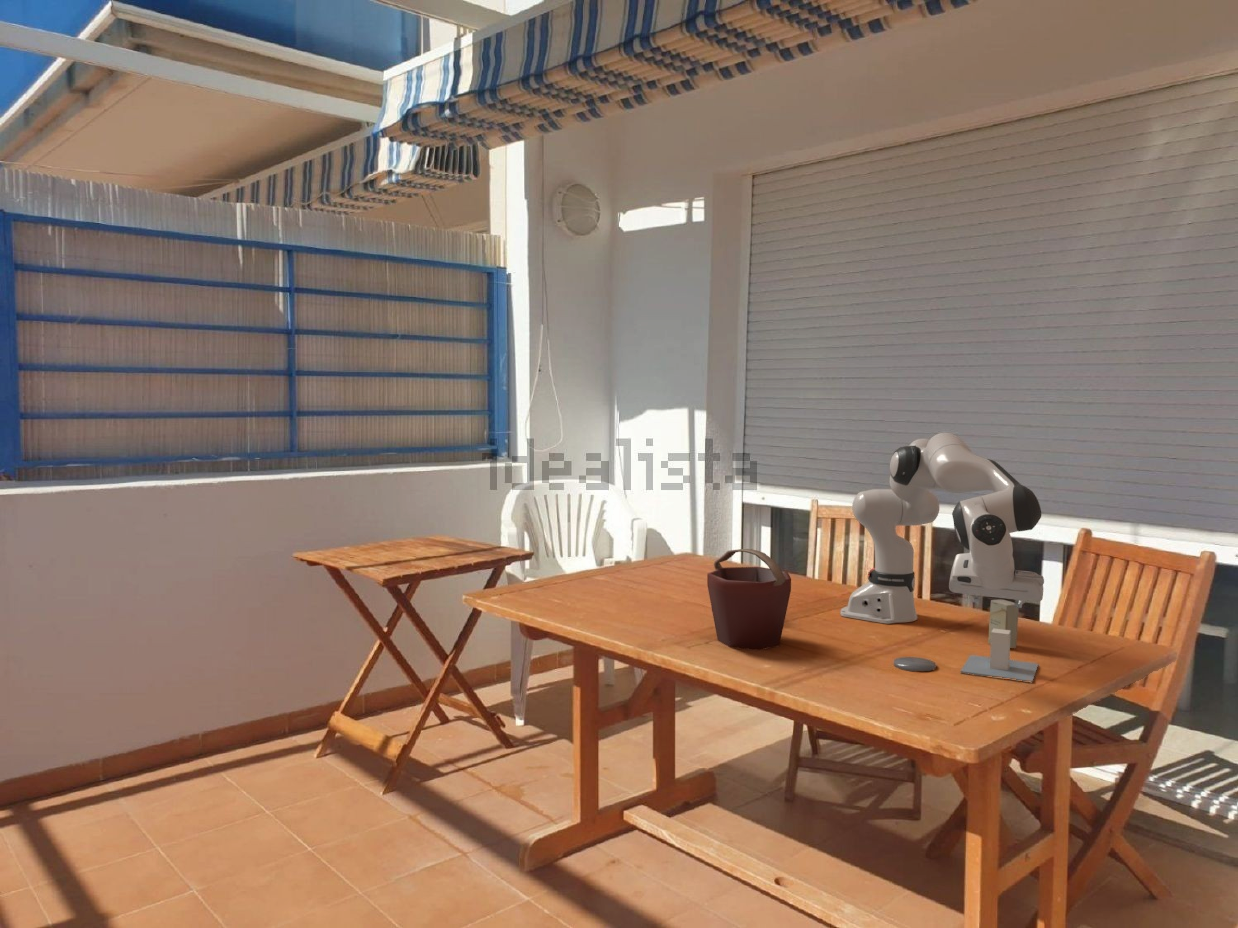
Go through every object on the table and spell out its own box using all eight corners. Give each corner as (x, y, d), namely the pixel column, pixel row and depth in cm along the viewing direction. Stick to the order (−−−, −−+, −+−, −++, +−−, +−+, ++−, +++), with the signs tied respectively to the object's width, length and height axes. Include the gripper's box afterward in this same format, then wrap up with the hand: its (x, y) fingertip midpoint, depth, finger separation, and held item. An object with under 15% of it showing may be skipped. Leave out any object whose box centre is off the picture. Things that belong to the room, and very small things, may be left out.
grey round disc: (889, 667, 231) (889, 664, 231) (898, 657, 240) (898, 654, 240) (931, 674, 226) (931, 670, 226) (939, 663, 235) (939, 660, 235)
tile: (960, 673, 227) (960, 670, 227) (970, 656, 241) (970, 654, 241) (1032, 683, 219) (1032, 680, 219) (1038, 665, 233) (1038, 663, 233)
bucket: (695, 633, 263) (695, 545, 261) (764, 626, 271) (765, 541, 269) (735, 656, 240) (737, 560, 238) (810, 648, 248) (811, 555, 246)
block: (989, 668, 229) (991, 631, 228) (992, 663, 233) (993, 628, 232) (1007, 670, 227) (1008, 634, 226) (1009, 666, 231) (1010, 630, 230)
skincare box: (987, 644, 253) (989, 599, 252) (1000, 642, 255) (1002, 598, 254) (1004, 650, 247) (1006, 604, 246) (1017, 648, 249) (1019, 603, 248)
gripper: (1045, 562, 208) (1046, 596, 217) (949, 553, 218) (954, 586, 227) (1042, 586, 204) (1043, 619, 214) (944, 576, 214) (950, 608, 224)
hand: (997, 602), depth 221 cm, fingers open, 8 cm apart
